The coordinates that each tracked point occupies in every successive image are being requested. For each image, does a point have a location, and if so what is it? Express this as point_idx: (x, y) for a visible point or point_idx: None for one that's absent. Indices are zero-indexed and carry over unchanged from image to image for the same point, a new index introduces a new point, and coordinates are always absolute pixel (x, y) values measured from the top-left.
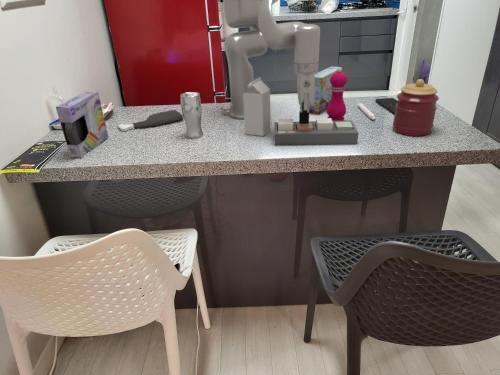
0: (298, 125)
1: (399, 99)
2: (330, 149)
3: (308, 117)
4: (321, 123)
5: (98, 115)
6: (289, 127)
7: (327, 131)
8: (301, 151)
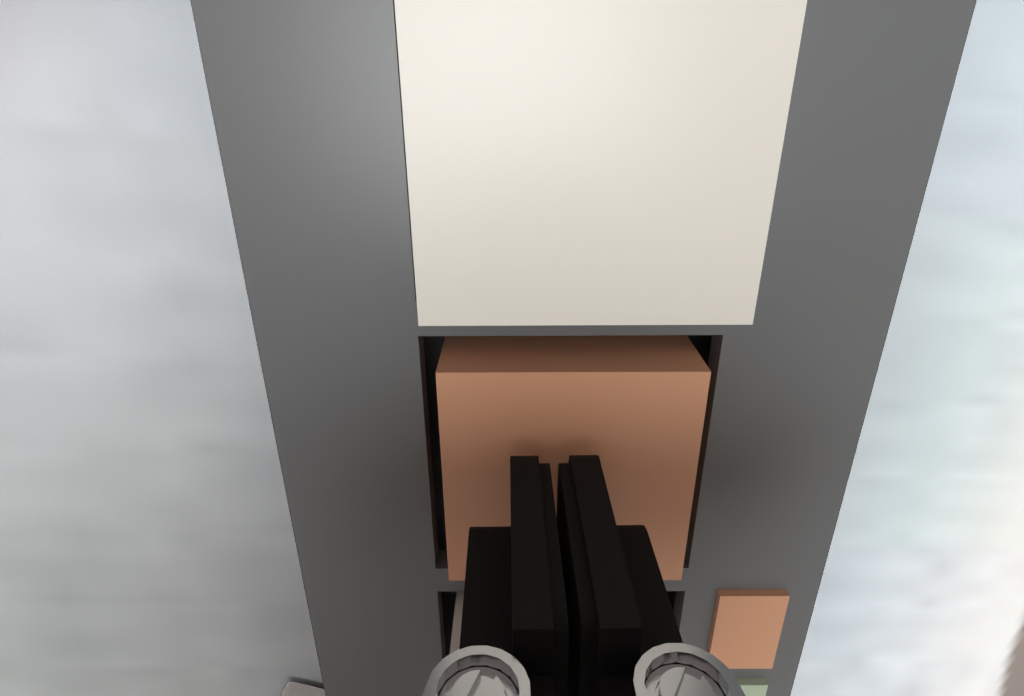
0: None
1: None
2: (1009, 61)
3: (616, 541)
4: (765, 241)
5: None
6: None
7: (848, 94)
8: (943, 426)
